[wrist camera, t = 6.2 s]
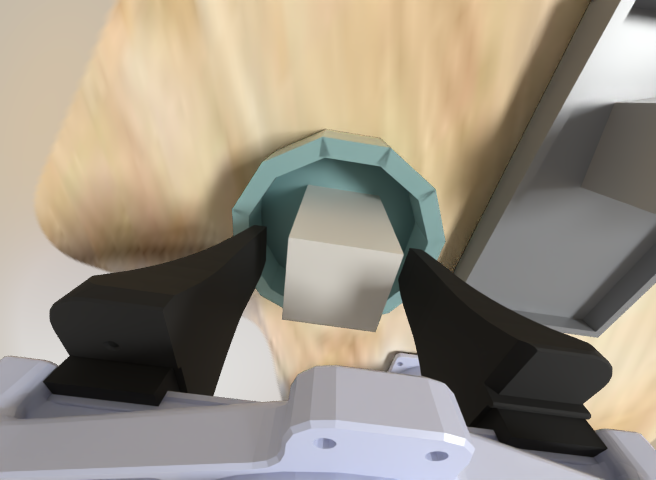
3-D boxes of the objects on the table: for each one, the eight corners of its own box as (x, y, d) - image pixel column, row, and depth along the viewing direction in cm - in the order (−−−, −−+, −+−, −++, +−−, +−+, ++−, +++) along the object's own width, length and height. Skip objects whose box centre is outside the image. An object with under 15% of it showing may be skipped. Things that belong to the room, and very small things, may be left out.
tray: (579, 320, 19) (597, 337, 17) (438, 301, 18) (446, 316, 17) (850, 35, 10) (925, 26, 9) (598, -14, 10) (638, -32, 8)
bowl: (395, 298, 18) (404, 331, 16) (252, 278, 18) (237, 309, 15) (452, 149, 13) (481, 162, 10) (250, 116, 12) (226, 120, 10)
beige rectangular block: (363, 255, 16) (375, 331, 10) (301, 245, 15) (281, 319, 10) (379, 195, 14) (403, 254, 8) (308, 184, 13) (288, 237, 8)
